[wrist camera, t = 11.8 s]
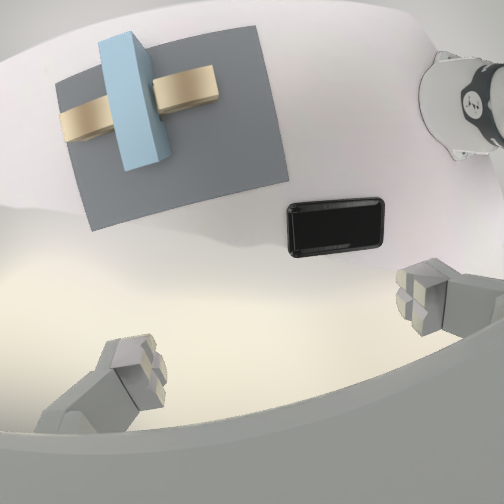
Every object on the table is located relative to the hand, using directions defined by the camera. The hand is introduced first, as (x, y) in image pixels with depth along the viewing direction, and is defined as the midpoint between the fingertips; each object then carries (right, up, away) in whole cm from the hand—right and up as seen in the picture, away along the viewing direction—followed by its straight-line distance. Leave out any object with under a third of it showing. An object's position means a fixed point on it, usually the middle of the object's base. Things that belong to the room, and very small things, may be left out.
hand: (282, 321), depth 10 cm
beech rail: (-14, +20, +27) cm, 37 cm away
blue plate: (-14, +20, +27) cm, 37 cm away
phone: (+11, +6, +36) cm, 39 cm away
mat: (-12, +18, +28) cm, 36 cm away
